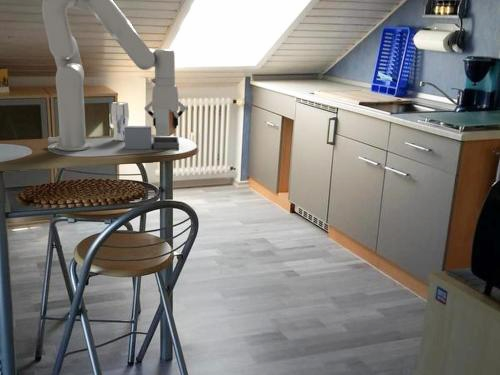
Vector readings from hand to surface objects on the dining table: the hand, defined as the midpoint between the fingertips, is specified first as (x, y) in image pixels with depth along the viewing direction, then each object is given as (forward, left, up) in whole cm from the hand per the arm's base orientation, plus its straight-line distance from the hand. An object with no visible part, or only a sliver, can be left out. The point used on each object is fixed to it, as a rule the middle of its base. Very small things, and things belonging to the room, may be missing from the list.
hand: (165, 127), depth 235 cm
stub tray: (0, 0, -7) cm, 7 cm away
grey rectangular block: (-11, -2, -7) cm, 13 cm away
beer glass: (-18, +13, -8) cm, 24 cm away
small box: (0, 0, -3) cm, 3 cm away
